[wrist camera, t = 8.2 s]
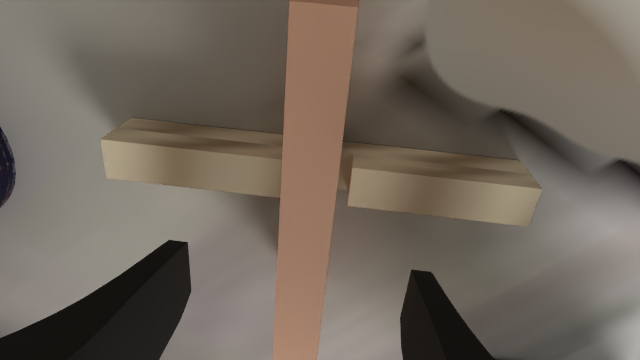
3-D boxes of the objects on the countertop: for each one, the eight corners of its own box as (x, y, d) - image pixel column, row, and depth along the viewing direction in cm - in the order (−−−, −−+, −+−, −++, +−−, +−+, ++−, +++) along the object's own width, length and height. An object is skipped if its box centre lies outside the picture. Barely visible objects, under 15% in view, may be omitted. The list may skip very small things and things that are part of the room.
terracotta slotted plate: (313, -13, 18) (289, 0, 12) (358, -9, 18) (358, 7, 12) (293, 273, 26) (272, 371, 20) (325, 277, 26) (314, 377, 20)
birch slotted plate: (519, 160, 21) (542, 189, 19) (508, 195, 22) (528, 226, 19) (131, 117, 22) (100, 139, 19) (135, 152, 23) (106, 177, 20)
